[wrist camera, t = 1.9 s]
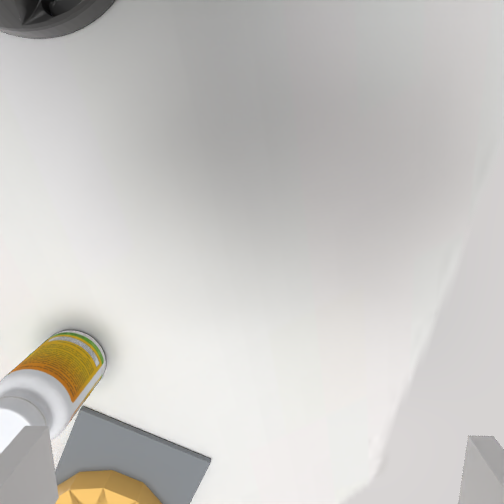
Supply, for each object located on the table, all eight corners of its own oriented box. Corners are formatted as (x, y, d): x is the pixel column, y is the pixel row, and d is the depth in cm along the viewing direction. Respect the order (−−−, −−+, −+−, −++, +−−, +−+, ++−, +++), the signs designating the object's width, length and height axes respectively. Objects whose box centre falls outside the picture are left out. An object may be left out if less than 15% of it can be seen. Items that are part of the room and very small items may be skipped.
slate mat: (28, 540, 40) (26, 544, 39) (82, 406, 36) (80, 409, 35) (146, 585, 40) (145, 590, 40) (211, 458, 37) (210, 463, 36)
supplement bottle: (44, 323, 34) (-41, 390, 25) (110, 334, 34) (49, 405, 25) (42, 381, 35) (-40, 466, 26) (105, 392, 35) (45, 480, 26)
